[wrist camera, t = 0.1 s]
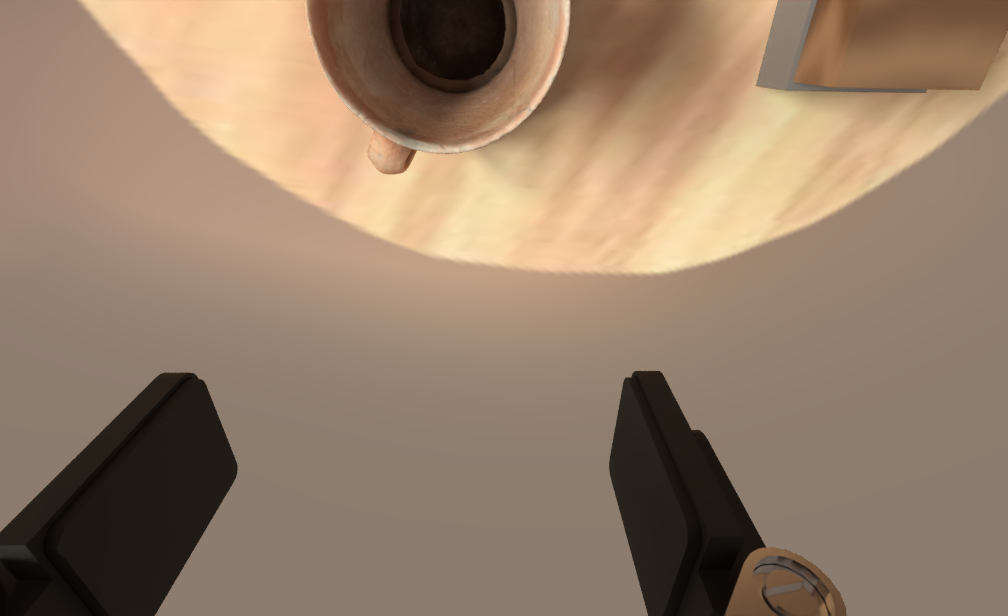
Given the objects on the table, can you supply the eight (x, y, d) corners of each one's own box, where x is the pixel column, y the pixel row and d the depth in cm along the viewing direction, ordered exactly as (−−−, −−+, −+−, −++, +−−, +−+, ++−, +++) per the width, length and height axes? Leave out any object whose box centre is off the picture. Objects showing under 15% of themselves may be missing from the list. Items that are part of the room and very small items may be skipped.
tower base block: (796, -80, 31) (839, -97, 27) (941, -76, 31) (1004, -93, 27) (753, 85, 36) (785, 90, 32) (879, 87, 36) (925, 92, 32)
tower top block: (842, -87, 27) (900, -108, 24) (990, -83, 28) (1071, -103, 24) (792, 82, 32) (834, 87, 28) (919, 84, 32) (978, 90, 28)
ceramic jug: (429, -189, 28) (370, -367, 16) (614, -28, 32) (683, -68, 20) (317, 87, 35) (218, 113, 23) (478, 189, 39) (466, 258, 27)
